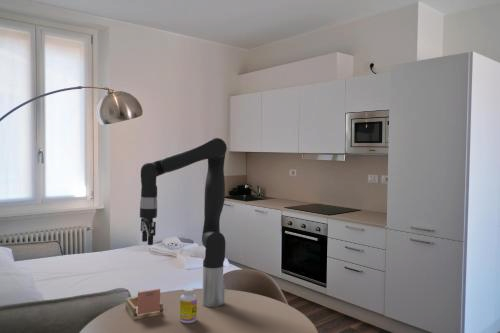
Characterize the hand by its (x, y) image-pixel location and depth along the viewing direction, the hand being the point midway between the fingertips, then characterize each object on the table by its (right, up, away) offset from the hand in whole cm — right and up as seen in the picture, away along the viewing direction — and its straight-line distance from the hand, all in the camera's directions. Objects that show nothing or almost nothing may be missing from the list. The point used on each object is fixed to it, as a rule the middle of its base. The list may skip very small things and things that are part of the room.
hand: (147, 243), depth 178 cm
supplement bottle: (+21, -28, -17) cm, 39 cm away
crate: (+1, -28, -9) cm, 29 cm away
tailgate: (+4, -26, -15) cm, 30 cm away
